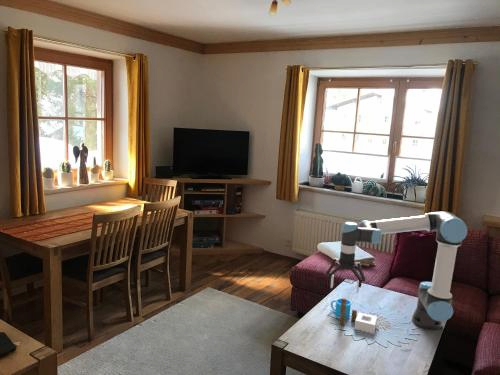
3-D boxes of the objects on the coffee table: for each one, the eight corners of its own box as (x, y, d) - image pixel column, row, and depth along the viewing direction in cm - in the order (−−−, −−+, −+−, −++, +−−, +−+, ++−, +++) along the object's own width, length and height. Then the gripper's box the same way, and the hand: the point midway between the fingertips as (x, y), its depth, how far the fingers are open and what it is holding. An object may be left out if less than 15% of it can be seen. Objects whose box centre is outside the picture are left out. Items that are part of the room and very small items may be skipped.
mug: (352, 315, 227) (353, 302, 226) (344, 320, 221) (346, 306, 220) (334, 308, 235) (335, 295, 234) (326, 312, 229) (327, 299, 228)
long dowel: (344, 324, 217) (346, 298, 214) (343, 326, 214) (345, 300, 212) (339, 323, 218) (341, 297, 215) (338, 325, 215) (340, 299, 213)
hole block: (376, 325, 217) (377, 316, 217) (374, 333, 208) (374, 324, 208) (357, 320, 221) (358, 312, 221) (354, 329, 212) (355, 320, 212)
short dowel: (356, 320, 222) (357, 310, 221) (355, 322, 220) (356, 312, 219) (351, 319, 223) (352, 309, 222) (350, 321, 221) (351, 311, 220)
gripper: (373, 253, 207) (369, 292, 211) (325, 245, 217) (323, 282, 221) (371, 258, 200) (367, 297, 204) (322, 249, 210) (319, 287, 214)
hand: (344, 289), depth 213 cm, fingers open, 13 cm apart
